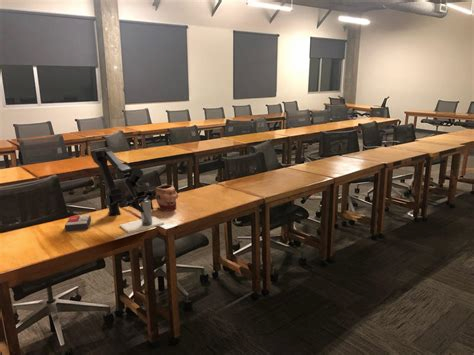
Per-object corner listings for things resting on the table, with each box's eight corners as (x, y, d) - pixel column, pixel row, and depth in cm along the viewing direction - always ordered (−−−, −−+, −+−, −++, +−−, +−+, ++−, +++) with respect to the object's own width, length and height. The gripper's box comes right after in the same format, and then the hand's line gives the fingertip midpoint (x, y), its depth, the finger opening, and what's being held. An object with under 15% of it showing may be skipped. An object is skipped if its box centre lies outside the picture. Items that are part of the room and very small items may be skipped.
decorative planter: (147, 207, 234) (145, 185, 230) (163, 202, 243) (161, 181, 240) (169, 214, 222) (167, 191, 218) (184, 208, 231) (183, 186, 227)
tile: (128, 233, 195) (128, 231, 195) (119, 226, 204) (119, 224, 204) (164, 224, 207) (163, 222, 207) (154, 217, 216) (154, 216, 216)
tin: (140, 225, 202) (138, 202, 199) (143, 222, 207) (142, 199, 204) (150, 226, 201) (148, 202, 198) (153, 222, 207) (151, 199, 203)
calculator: (90, 214, 214) (87, 222, 200) (91, 221, 215) (87, 230, 201) (69, 215, 212) (64, 224, 197) (70, 223, 213) (65, 232, 198)
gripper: (123, 182, 194) (138, 207, 190) (153, 175, 207) (167, 198, 203) (116, 194, 200) (130, 218, 196) (145, 186, 214) (159, 209, 210)
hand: (147, 210), depth 201 cm, fingers open, 6 cm apart
